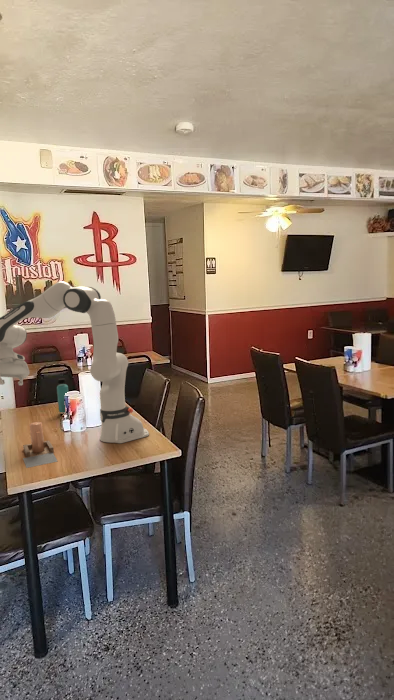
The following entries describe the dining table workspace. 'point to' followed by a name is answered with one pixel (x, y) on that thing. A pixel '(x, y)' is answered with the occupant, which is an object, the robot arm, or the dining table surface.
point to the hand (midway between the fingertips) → (11, 384)
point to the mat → (39, 460)
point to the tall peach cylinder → (37, 437)
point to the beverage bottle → (61, 394)
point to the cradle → (29, 453)
